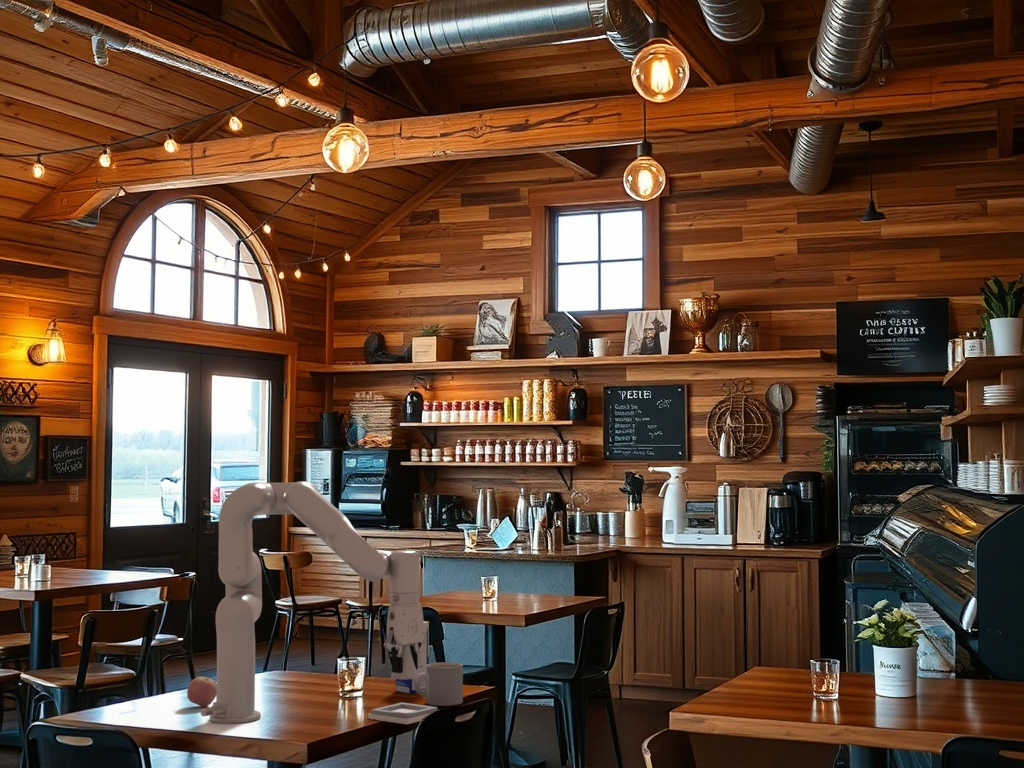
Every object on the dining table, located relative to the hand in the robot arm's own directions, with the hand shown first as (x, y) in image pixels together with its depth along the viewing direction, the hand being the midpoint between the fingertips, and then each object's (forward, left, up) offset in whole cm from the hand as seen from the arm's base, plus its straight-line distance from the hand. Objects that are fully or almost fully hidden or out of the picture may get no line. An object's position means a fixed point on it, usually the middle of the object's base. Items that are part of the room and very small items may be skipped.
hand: (404, 670), depth 306 cm
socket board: (0, 0, -12) cm, 12 cm away
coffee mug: (+21, +6, -12) cm, 25 cm away
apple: (-20, +54, -12) cm, 59 cm away
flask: (0, 0, -2) cm, 2 cm away
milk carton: (+30, +23, -12) cm, 40 cm away
